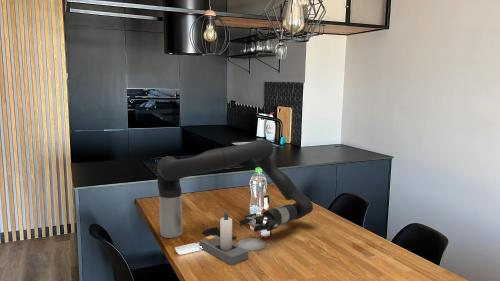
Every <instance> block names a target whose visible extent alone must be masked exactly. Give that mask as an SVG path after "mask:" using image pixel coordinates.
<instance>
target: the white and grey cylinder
mask: <svg viewBox="0 0 500 281" xmlns="http://www.w3.org/2000/svg"><path fill="white" fill-rule="evenodd" d="M219 229H220V250H222V251H224V252H227V251H229V250H232V243H233V241H232V235H233V219H232V217H229V211H228V210H224V211H223V217H221V218H220V219H219Z"/></svg>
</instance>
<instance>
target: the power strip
mask: <svg viewBox="0 0 500 281" xmlns="http://www.w3.org/2000/svg"><path fill="white" fill-rule="evenodd" d="M199 245H200V246H202V248H203V249H202V250H203V251H204V252H206V253H208V254H210V255H212V256H214V257H216V258H217V259H219V260H220V261H223V262H225V263H226V264H228V265H230V266H234V265H236V264H238V263H241V262H244V261H246V260H249V251H247V250H245V249H243V248H241V247H239V246H238V244H235V243H234V242H232V250H229V251H227V252H224V251H222V250H220V237H218V236H216V235H214V236H212V235H211V236H206V237H204V238H201V239H199V240H198V246H199Z"/></svg>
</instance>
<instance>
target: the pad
mask: <svg viewBox="0 0 500 281" xmlns="http://www.w3.org/2000/svg"><path fill="white" fill-rule="evenodd" d="M237 246H239V247H241V248H243V249H245V250H247V251H248V252H257V251H261V250H264V248H266V242H265V240H263V239H261V238H256V237H255V238H254V237H247V238H243V239H241V240H239V241H238V242H237Z"/></svg>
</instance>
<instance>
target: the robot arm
mask: <svg viewBox="0 0 500 281" xmlns="http://www.w3.org/2000/svg"><path fill="white" fill-rule="evenodd" d="M274 150H275V148H274V144H273V142H271V141H270V140H268V139H264V138H261V139H258V140H253V141H251V142H248V143H243V144H238V145H231V146H225V147H220V148H214V149H209V150H206V151H204V152H201V153H200V154H197V155H196V156H193V157H189V158H188V157H187V158H182V159H181V158H180V159H177V158H175V157H174V156H170V155H168V156H163V157H162V158H160V160H159V161H158V163H157V166H156V173H157V188H158V195H159V196H158V197H159V199H158V200H159V211H158V214H159V215H158V217H159V233H160V237H162V238H166V239H167V238H168V239H174V238H177V237H180V236H182V235H183V202H182V197H183V196H182V186H181V182H180V180H181V179H185V178H188V177H190V176H193V175H198V174H199V175H200V174H205V173H211V172H216V171H220V170H226V169H229V168H231V167H234V166H237V165H239V164H241V163H243V162H245V161H250V160H252V161H253V162H254V163H255V164H256V165H257V166H258V168H260V169H261V170H262V171H263V173H265V174H266V176H268V178H269V180H271V181H272V182H273V184H274V185H275V186H276V188H277V189H278V191H279V192H280V193H281V195H282V196H283V198H284V199H285V200H287V201H290V200H293V201H294V202H295V203H292V204H290V203H288V204H284V205H281V206H276V207H273V208H269V209H266V210H264V212H263V213H262V214H259V215H257V213H256V212H253V213H249V214H246V215H244V218H243V219H240V220H239V226H241V227H242V226H246V225H248V224H252V225H253V226H254V225H255V226H254V227H253V231H254V232H255V233H258V232H260V231H266V232H271V231H273V230H276V229H277V228H278V227H279V226H281V225H284V224H286V223H287V222H291V221H294V220H298V219H301V218H304V217H305V216H307V215H309V214H311V213H313V210H314V206H313V202H312V200H310V199H309V197H307V196H306V195H305V194H304V193H303V192H302V191H300V190H299V189H298V188H297V186H296V185H295V183H294V182H293V181H292V179H291V178H290V177H289V176H288V175H287V174H286V173H284V172H283V171H282V170H281V169H279V168H278V167H277V165H276V164H275V163H274V162H273V160H272V158H271V156H272V155H273V153H274Z"/></svg>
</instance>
